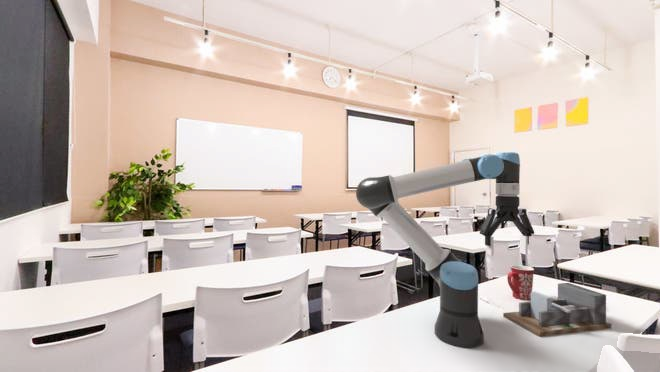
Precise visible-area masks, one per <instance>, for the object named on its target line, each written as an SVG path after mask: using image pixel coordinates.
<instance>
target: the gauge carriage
mask: <svg viewBox="0 0 660 372" xmlns="http://www.w3.org/2000/svg"><path fill="white" fill-rule="evenodd" d="M552 300H553V298H552V297H550V296H548V295H546V294H543V293H540V292H537V291H532V292H531V300H530V302H531V316H532V317H534V318H536V319H538V320H539V312H543V311H553V310H562V311H565V312H566V325H567V326H570V313H571V311H570V310H568V309H567V308H565V307H562V306H560V305H557V304H555V303H552Z"/></svg>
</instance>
